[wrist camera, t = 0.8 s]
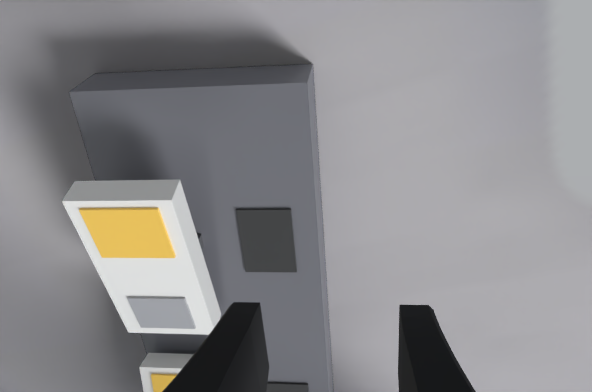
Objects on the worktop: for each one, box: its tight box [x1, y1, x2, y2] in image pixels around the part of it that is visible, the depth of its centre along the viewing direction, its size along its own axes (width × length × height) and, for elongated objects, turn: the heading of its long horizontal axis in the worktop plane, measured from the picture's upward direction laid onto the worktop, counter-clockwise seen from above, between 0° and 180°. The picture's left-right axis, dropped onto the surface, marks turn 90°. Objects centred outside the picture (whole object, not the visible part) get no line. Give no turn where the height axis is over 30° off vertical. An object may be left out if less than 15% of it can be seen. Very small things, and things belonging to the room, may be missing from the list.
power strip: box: [69, 64, 334, 392], centre depth 23 cm, size 21×8×3 cm, turn 4°
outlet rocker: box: [62, 179, 221, 335], centre depth 19 cm, size 7×4×1 cm, turn 5°
